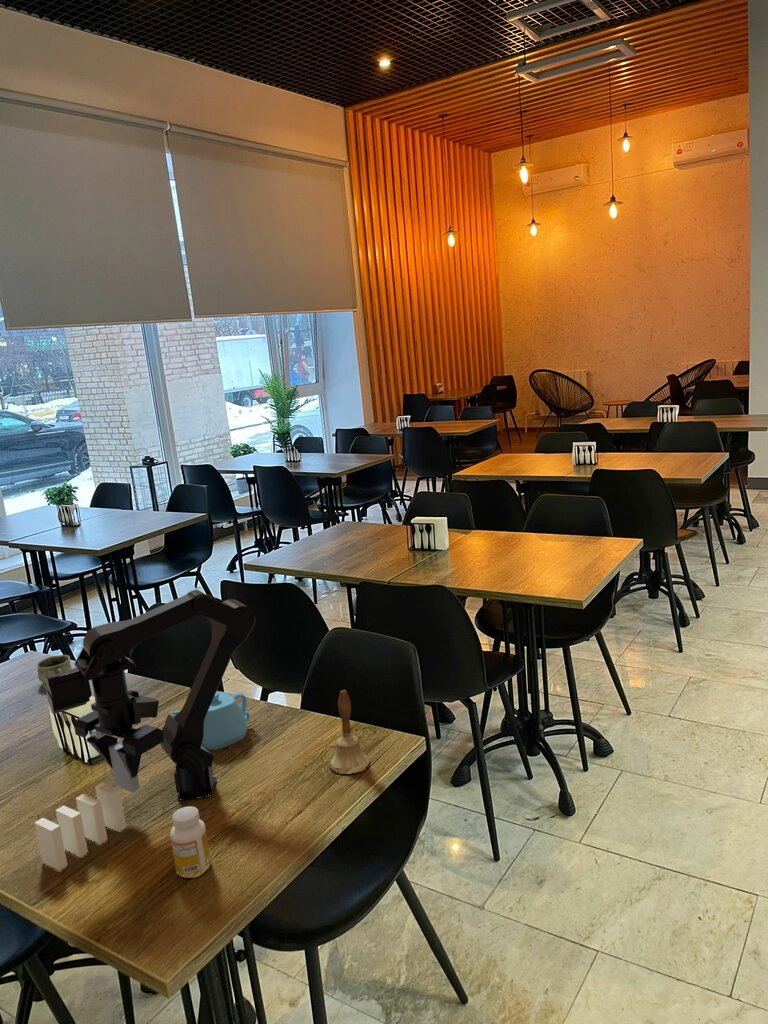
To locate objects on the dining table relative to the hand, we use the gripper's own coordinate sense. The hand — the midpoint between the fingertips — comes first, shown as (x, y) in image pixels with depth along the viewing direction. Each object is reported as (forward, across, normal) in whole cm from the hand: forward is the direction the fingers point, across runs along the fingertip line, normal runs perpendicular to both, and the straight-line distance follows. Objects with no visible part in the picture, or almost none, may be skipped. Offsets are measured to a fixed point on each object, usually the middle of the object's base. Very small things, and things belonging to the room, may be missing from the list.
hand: (125, 773), depth 142 cm
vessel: (+9, +73, -32) cm, 80 cm away
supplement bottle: (+9, -22, +5) cm, 25 cm away
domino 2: (+9, 0, +12) cm, 15 cm away
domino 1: (+9, 0, +16) cm, 18 cm away
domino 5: (+9, 0, +4) cm, 10 cm away
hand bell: (+9, -26, -33) cm, 43 cm away
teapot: (+9, +7, -28) cm, 30 cm away
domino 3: (+9, 0, +8) cm, 12 cm away
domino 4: (+3, 0, 0) cm, 3 cm away
